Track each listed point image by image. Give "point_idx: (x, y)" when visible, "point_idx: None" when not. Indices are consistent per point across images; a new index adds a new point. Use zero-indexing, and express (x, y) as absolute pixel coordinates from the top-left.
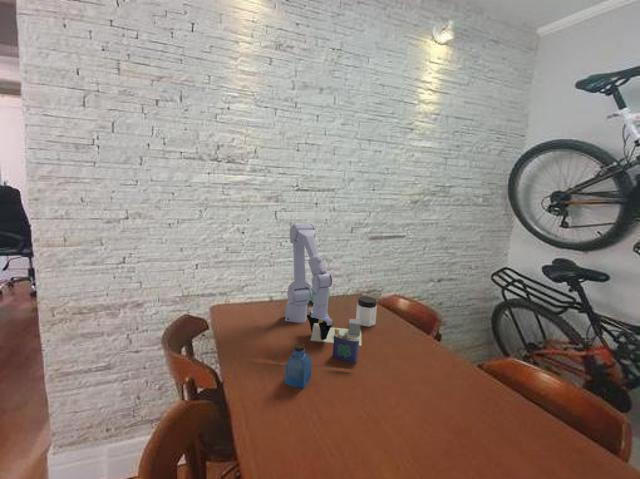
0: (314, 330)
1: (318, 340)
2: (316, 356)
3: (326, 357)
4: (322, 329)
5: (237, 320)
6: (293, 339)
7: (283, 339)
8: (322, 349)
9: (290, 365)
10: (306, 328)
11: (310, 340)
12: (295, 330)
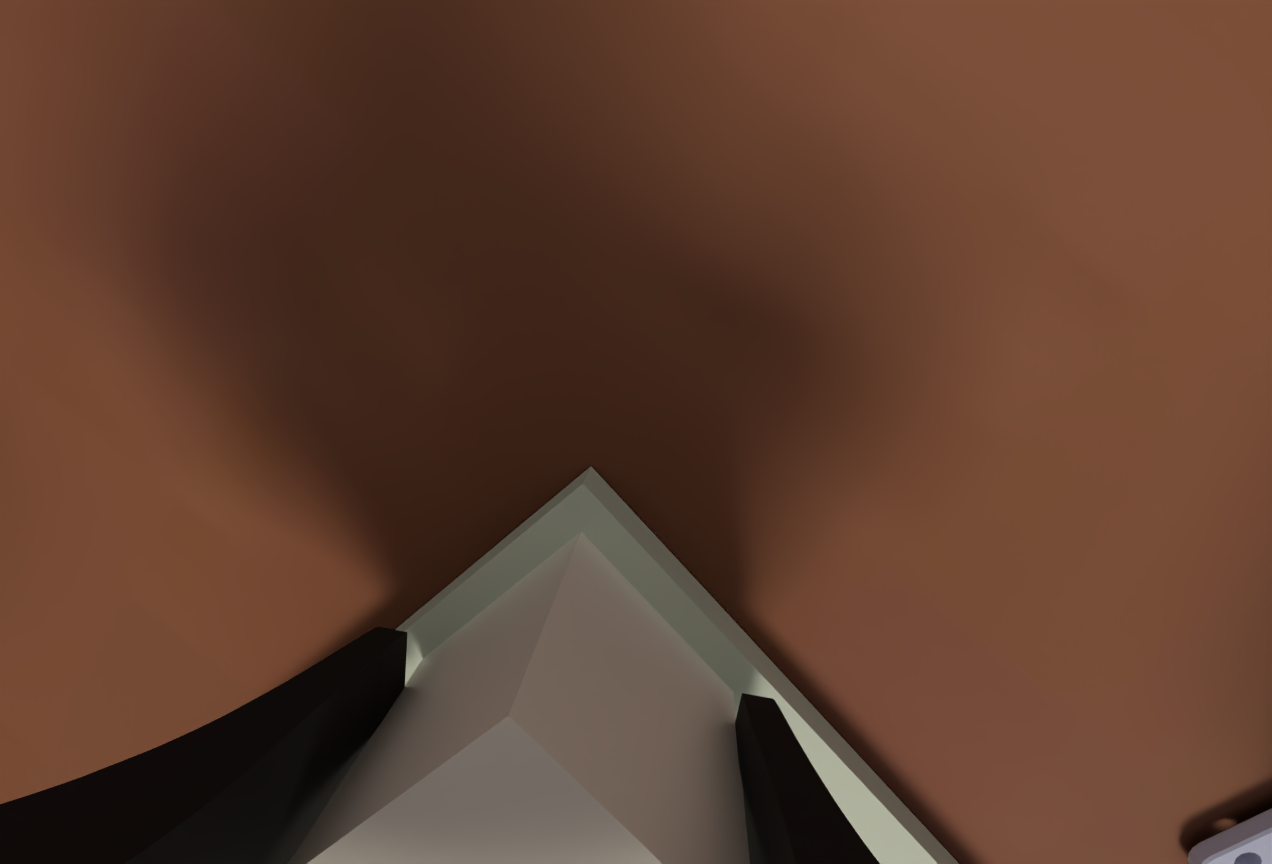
0: (489, 687)
1: (490, 603)
2: (112, 220)
3: (21, 344)
4: (36, 796)
5: None
6: (918, 292)
7: (1087, 92)
8: (278, 477)
9: None
10: (1085, 788)
11: (575, 487)
12: (1197, 586)
